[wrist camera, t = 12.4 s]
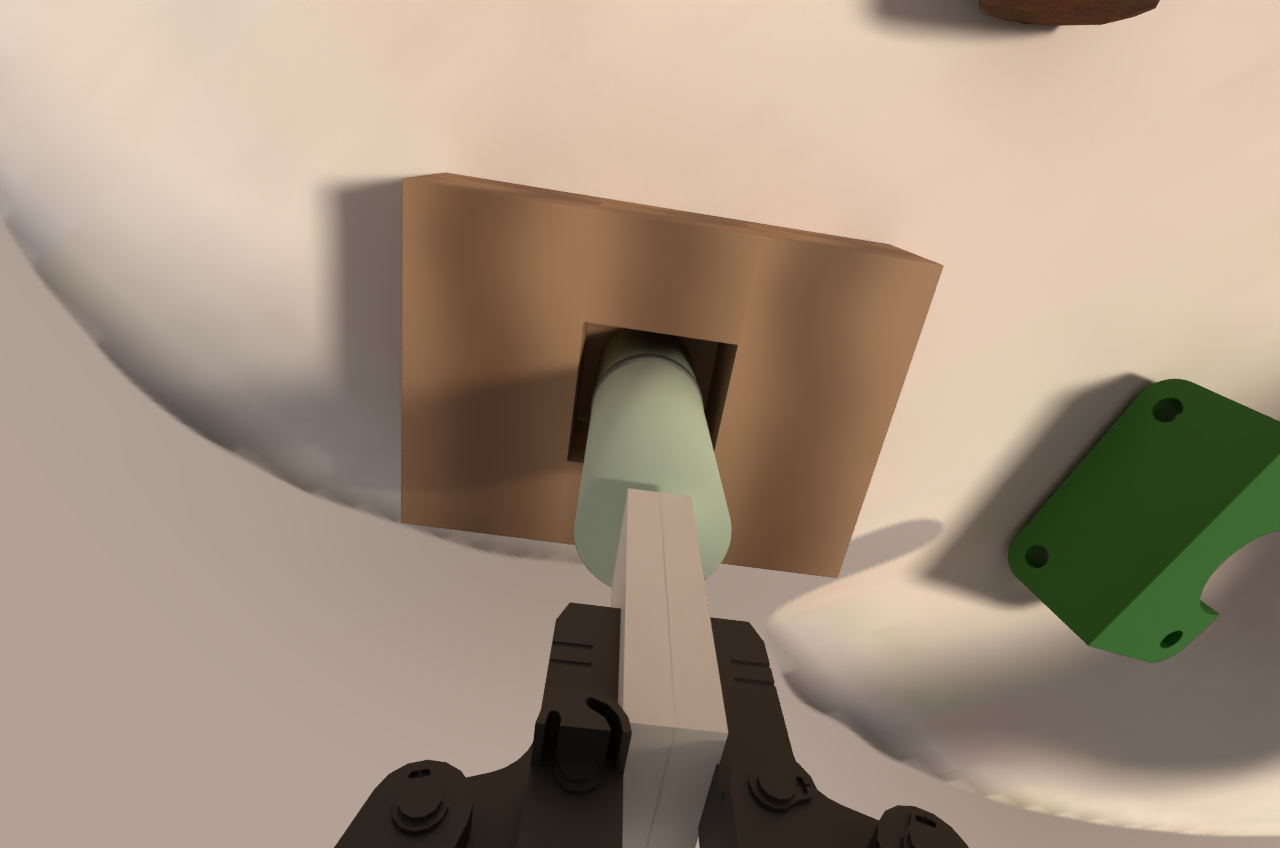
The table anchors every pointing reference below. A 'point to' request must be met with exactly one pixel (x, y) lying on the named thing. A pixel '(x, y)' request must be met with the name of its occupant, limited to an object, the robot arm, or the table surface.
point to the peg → (647, 448)
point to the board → (656, 302)
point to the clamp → (1153, 520)
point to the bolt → (1066, 10)
